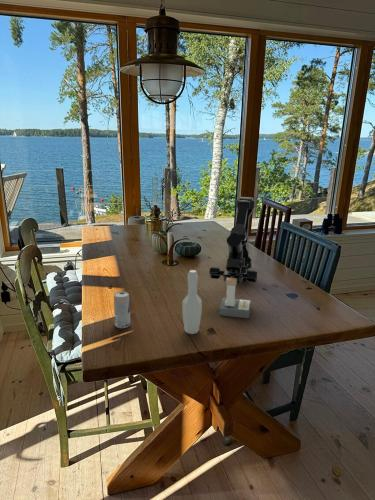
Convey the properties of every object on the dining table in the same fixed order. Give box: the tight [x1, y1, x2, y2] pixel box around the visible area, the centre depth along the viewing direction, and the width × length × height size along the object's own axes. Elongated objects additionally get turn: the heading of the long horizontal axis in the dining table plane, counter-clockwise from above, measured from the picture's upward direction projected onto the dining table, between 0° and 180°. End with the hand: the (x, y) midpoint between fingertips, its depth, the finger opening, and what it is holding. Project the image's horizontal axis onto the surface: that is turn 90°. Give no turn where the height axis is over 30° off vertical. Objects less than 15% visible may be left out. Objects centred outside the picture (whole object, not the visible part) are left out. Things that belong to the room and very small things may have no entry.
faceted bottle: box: [181, 269, 203, 335], centre depth 122 cm, size 6×6×22 cm
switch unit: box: [218, 297, 252, 319], centre depth 140 cm, size 10×11×3 cm
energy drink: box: [113, 290, 131, 329], centre depth 126 cm, size 5×5×12 cm
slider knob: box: [225, 277, 237, 307], centre depth 137 cm, size 4×4×10 cm
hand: (231, 294), depth 139 cm, fingers closed, pressing on slider knob
